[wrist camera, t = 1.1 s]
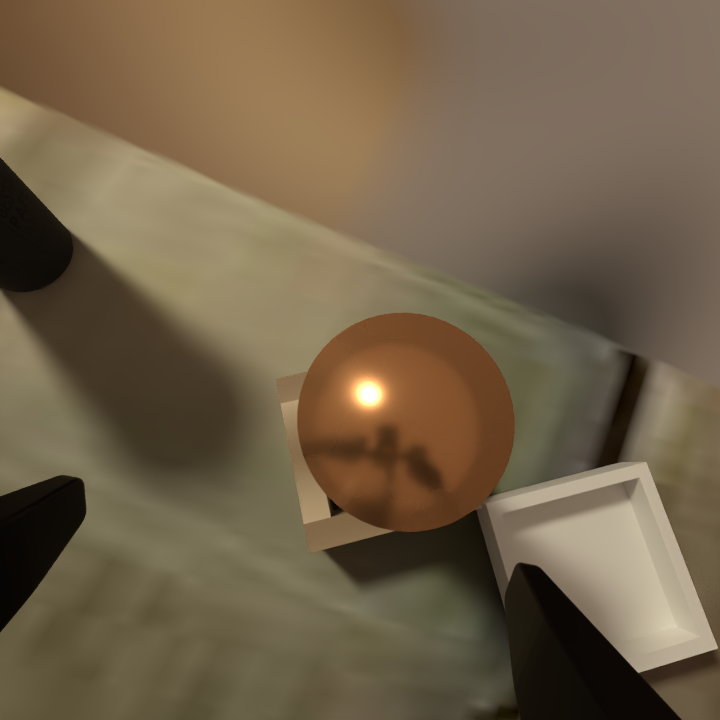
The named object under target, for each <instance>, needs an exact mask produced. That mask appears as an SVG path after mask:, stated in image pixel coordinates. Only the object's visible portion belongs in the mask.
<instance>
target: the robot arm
mask: <svg viewBox="0 0 720 720" xmlns="http://www.w3.org/2000/svg"><path fill="white" fill-rule="evenodd" d="M85 515H86V499H85V488H84V482H83V481H82V479H80V478H77V477H72V476H67V475H59V476H56V477H53V478H51V479H48V480H45V481H42V482H39V483H37V484H34V485H31V486H28V487H25V488H22V489H20V490H17V491H14V492H11V493H8V494H5V495H3V496H0V632H1V631H2V630H3V628H4V627H5V626H6V625H7V624H8V622H9V621H10V620H11V619H12V618H13V616H14V615H15V614H16V613H17V612H18V610H19V609H20V608H21V607H22V606H23V604H24V603H25V602H26V601H27V599H28V598H29V597H30V596H31V594H32V593H33V592H34V591H35V589H36V588H37V587H38V585H39V584H40V582H41V581H42V580H43V578H44V577H45V575H46V574H47V573H48V571H49V570H50V568H51V567H52V565H53V564H54V562H55V561H56V560H57V558H58V557H59V555H60V554H61V552H62V551H63V550H64V548H65V547H66V545H67V544H68V542H69V541H70V540H71V538H72V537H73V535H74V534H75V532H76V531H77V529H78V528H79V527H80V525H81V524H82V522H83V520H84V518H85ZM504 604H505V613H506V622H507V631H508V640H509V649H510V658H511V667H512V675H513V683H514V690H515V695H516V701H517V706H518V710H519V715H520V720H681V718H680V717H679V716H678V715H677V714H676V713H675V712H674V711H673V710H672V709H671V708H670V707H669V706H668V704H667V703H666V702H665V701H664V700H663V699H662V698H661V697H660V696H659V695H658V694H657V693H656V691H655V690H654V689H653V688H652V687H651V686H650V685H649V684H648V683H647V682H646V681H645V680H644V679H643V677H642V676H641V675H640V674H639V673H638V672H637V671H636V670H635V669H634V668H633V667H632V666H631V665H630V663H629V662H628V661H627V660H626V659H625V658H624V657H623V656H622V655H621V654H620V653H619V652H618V651H617V649H616V648H615V647H614V646H613V645H612V644H611V643H610V642H609V641H608V640H607V639H606V638H605V637H604V635H603V634H602V633H601V632H600V631H599V630H598V629H597V628H596V627H595V626H594V625H593V624H592V623H591V621H590V620H589V619H588V618H587V617H586V616H585V615H584V614H583V613H582V612H581V611H580V610H579V608H578V607H577V606H576V605H575V604H574V603H573V602H572V601H571V600H570V599H569V598H568V597H567V596H566V594H565V593H564V592H563V591H562V590H561V589H560V588H559V587H558V586H557V585H556V584H555V583H554V582H553V580H552V579H551V578H550V577H549V576H548V575H547V574H546V573H545V572H544V571H543V570H542V569H541V568H540V567H539V566H537V565H533V564H527V563H522V562H519V563H517V564H516V565H515V567H514V570H513V572H512V575H511V578H510V581H509V584H508V586H507V589H506V592H505V600H504Z"/></svg>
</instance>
